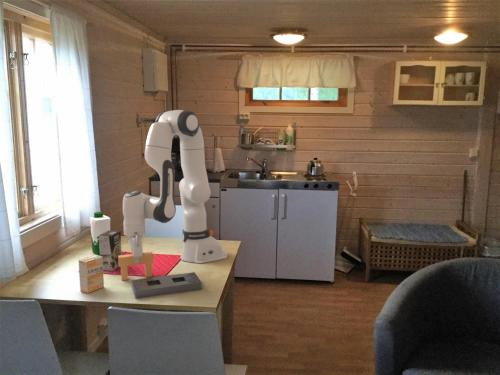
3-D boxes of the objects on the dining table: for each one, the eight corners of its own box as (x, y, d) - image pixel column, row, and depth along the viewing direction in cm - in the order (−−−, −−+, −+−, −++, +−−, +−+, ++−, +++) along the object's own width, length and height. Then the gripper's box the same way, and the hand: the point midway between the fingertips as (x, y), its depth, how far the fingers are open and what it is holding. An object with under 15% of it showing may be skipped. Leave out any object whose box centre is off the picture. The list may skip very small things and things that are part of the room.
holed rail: (194, 278, 195) (194, 272, 195) (201, 289, 184) (201, 282, 184) (131, 287, 186) (131, 280, 186) (135, 298, 175) (135, 291, 175)
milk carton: (107, 248, 236) (105, 210, 232) (114, 253, 229) (112, 214, 225) (90, 252, 230) (87, 213, 227) (96, 256, 223) (94, 216, 220)
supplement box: (88, 294, 179) (86, 262, 177) (79, 291, 182) (77, 259, 180) (104, 287, 186) (103, 256, 184) (96, 284, 189) (95, 254, 186)
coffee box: (113, 271, 204) (111, 236, 201) (99, 270, 206) (98, 235, 203) (122, 264, 213) (121, 230, 210) (110, 263, 214) (108, 229, 211)
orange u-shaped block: (152, 273, 201) (151, 251, 199) (153, 276, 198) (152, 254, 196) (119, 278, 196) (118, 255, 194) (120, 280, 193) (118, 257, 191)
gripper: (145, 235, 185) (147, 268, 187) (139, 223, 203) (140, 253, 206) (129, 237, 182) (131, 270, 185) (124, 224, 201) (125, 254, 204)
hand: (135, 261), depth 195 cm, fingers closed on orange u-shaped block, 3 cm apart
